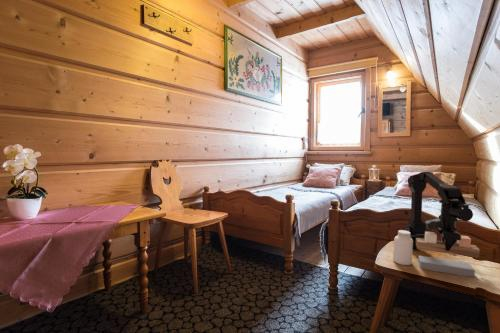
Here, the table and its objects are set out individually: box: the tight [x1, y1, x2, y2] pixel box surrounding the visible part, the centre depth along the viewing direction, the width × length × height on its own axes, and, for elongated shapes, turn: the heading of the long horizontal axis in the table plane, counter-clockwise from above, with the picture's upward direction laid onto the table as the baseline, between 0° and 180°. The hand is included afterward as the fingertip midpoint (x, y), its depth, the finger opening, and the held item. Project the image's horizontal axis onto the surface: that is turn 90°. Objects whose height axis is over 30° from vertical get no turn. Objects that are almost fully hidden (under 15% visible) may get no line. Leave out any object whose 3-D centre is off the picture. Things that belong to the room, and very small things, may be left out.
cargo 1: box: [424, 230, 438, 244], centre depth 130 cm, size 4×4×4 cm
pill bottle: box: [392, 229, 414, 266], centre depth 135 cm, size 8×8×15 cm
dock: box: [417, 255, 475, 278], centre depth 129 cm, size 8×20×3 cm, turn 67°
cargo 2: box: [456, 234, 472, 248], centre depth 125 cm, size 4×4×4 cm
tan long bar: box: [416, 238, 481, 258], centre depth 128 cm, size 6×23×4 cm, turn 67°
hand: (445, 248), depth 128 cm, fingers closed on tan long bar, 5 cm apart
